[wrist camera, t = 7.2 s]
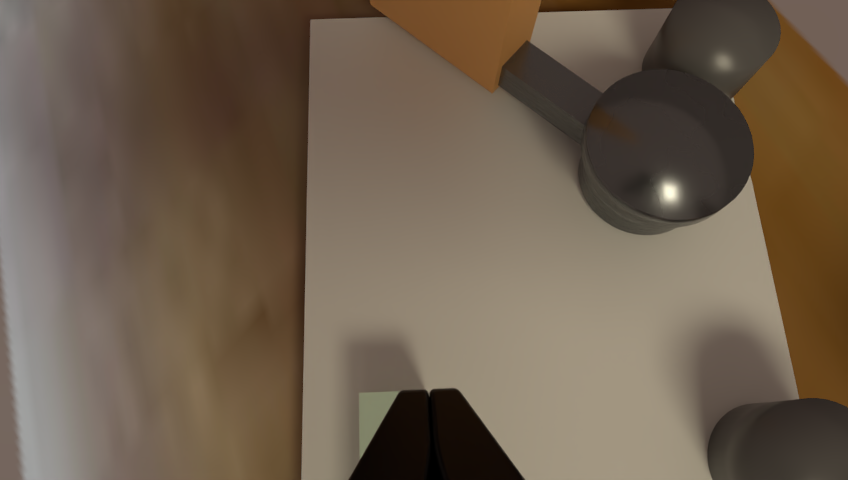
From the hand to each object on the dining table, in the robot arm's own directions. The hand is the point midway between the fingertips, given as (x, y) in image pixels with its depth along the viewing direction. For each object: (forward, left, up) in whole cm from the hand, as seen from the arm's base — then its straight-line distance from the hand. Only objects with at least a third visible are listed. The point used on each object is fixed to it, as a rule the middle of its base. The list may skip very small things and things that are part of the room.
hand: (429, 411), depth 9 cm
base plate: (+4, -5, -12) cm, 14 cm away
